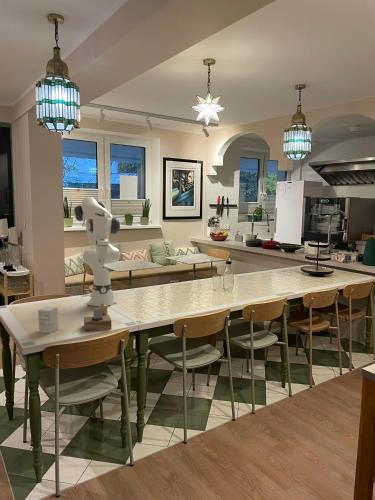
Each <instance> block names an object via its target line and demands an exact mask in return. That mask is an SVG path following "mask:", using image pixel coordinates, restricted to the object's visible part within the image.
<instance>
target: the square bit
mask: <svg viewBox="0 0 375 500" xmlns="http://www.w3.org/2000/svg"><path fill="white" fill-rule="evenodd" d="M92 312H93V313H92V315H93V316H92V317H93V321H96V320H102V317H101V307H99V306H95V307H93V311H92Z"/></svg>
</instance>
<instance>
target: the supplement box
mask: <svg viewBox="0 0 375 500" xmlns="http://www.w3.org/2000/svg"><path fill="white" fill-rule="evenodd" d="M58 311H59V309H58V307H55V306H48V305H47V306H44V307H42V308H39V309H38V311H37V312H38V313H37V315H38V332H39V333H44V334H52V333H54V332H55V331H58V330H59V315H58V313H59V312H58Z"/></svg>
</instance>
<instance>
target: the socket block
mask: <svg viewBox="0 0 375 500" xmlns="http://www.w3.org/2000/svg"><path fill="white" fill-rule="evenodd" d="M101 317H102V320H96V321H93V316H84V317H83V327H84V330H85V332H95V331H104V330H105V331H106V330H112V319H111V317H110V315H109V314H107V315H104V316H101Z"/></svg>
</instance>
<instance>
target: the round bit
mask: <svg viewBox="0 0 375 500" xmlns="http://www.w3.org/2000/svg"><path fill="white" fill-rule="evenodd" d="M100 306H101V316H104V315H108V306H107V304H101V305H100Z"/></svg>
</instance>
